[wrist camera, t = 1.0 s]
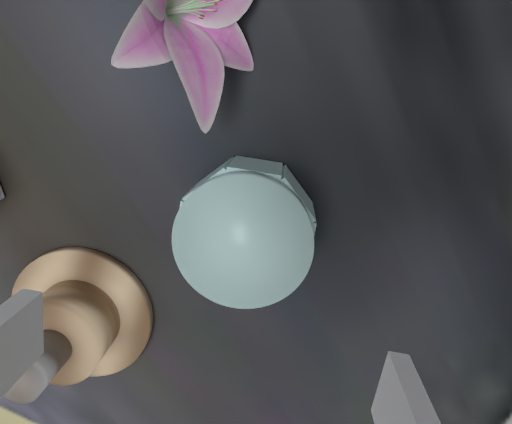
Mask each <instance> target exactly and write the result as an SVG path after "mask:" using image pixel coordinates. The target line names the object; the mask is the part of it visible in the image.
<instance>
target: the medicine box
mask: <svg viewBox="0 0 512 424" xmlns="http://www.w3.org/2000/svg"><path fill="white" fill-rule="evenodd" d="M3 198H5V197H4V193H3V191H2V188H1V186H0V200H2V199H3Z"/></svg>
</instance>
